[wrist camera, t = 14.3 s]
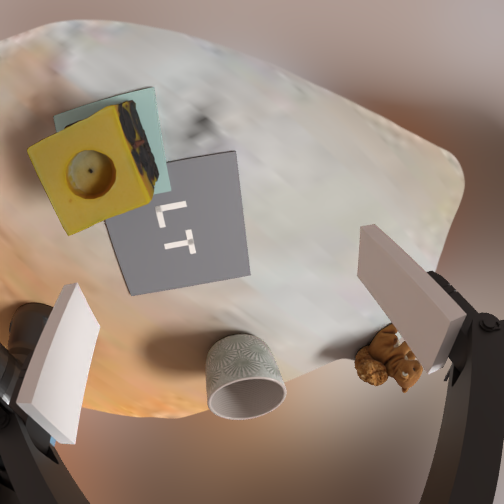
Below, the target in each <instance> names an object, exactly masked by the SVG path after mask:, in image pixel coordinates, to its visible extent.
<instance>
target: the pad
mask: <svg viewBox="0 0 504 504" xmlns="http://www.w3.org/2000/svg"><path fill="white" fill-rule="evenodd" d="M130 100H133V101H134V102H135V103H136V110H137V113H138V115H139V118H140V122H141V124H142V127H143V129H144V130H145V134H146V136H147V140H148V143H149V146H150V148H151V152H152V153H153V155H154V157H155V163H156V165H157V168H158V171H159V178H158V181H157V182H155V186H154V187H155V188H154V194H159V193H164V192H169V191H171V186H170V181H169V176H168V170H167V165H166V158H165V153H164V147H163V141H162V135H161V129H160V123H159V117H158V110H157V104H156V97H155V90H154V87H152V88H147V89H143V90H138V91H134V92H130V93H126V94H122V95H118V96H114V97H111V98H107V99H104V100H100V101H97V102H94V103H90V104H87V105H84V106H81V107H78V108H75V109H72V110H69V111H66V112H63V113H60V114H58V115H55V116H53V117H54V123H55V128H56V133H57V132H60V131H62V130H64V128H65V126H67V125H69V124H72V123H74V122H76V121H79V120H83V119H85V118H88V117H89V116H91V115H93V114H94V113H96V112H97V111H99V110H101V109H103V108H105V107H107V106H110V105H116V104H119V103H123V102H125V101H130ZM154 194H153V195H154Z"/></svg>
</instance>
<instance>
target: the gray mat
mask: <svg viewBox="0 0 504 504" xmlns="http://www.w3.org/2000/svg"><path fill="white" fill-rule="evenodd" d="M166 165H167V170H168V176H169V181H170V186H171V191H169V192H164V193H159V194H154V195H153V198H152V200H151V201H150V202H149V204H147V205H144V206H141V207H139V208H136V209H133V210H130V211H128V212H125V213H123V214H120V215H117V216H114V217H111V218H108V219H106V220H105V221H106V224H107V228H108V231H109V234H110V237H111V240H112V243H113V246H114V249H115V252H116V255H117V258H118V261H119V264H120V267H121V270H122V272H123V275H124V278H125V281H126V283H127V286H128V289H129V291H130V294H131V296H135V295H141V294H147V293H153V292H159V291H165V290H170V289H176V288H182V287H188V286H194V285H199V284H205V283H210V282H216V281H222V280H227V279H232V278H238V277H243V276H249V275H251V274H250V266H249V257H248V249H247V241H246V232H245V224H244V215H243V207H242V198H241V190H240V181H239V173H238V164H237V156H236V151H233V152H226V153H219V154H213V155H207V156H201V157H195V158H189V159H184V160H178V161H173V162H168V163H166Z"/></svg>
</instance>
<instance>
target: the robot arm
mask: <svg viewBox="0 0 504 504" xmlns="http://www.w3.org/2000/svg"><path fill="white" fill-rule="evenodd" d="M357 276H358V278H359V279H360V280H361V281H362V283H363V284H364V285H365V287H366V288H367V289H368V291H369V292H370V293H371V295H372V296H373V297H374V299H375V300H376V301H377V303H378V304H379V305H380V307H381V308H382V310H383V311H384V312H385V314H386V315H387V316H388V318H389V319H390V321H391V322H392V323H393V325H394V326H395V327H396V329H397V330H398V332H399V333H400V335H401V336H402V337H403V339H404V340H405V342H406V343H407V345H408V346H409V347H410V349H411V350H412V352H413V353H414V355H415V356H416V358H417V359H418V361H419V362H420V364H421V365H422V366H423V368H424V370H425V371H426V373H427V374H430V373H432V372H435V371H437V370H439V369H440V368H443V367H444V365H445V363H446V361H447V358H448V357H449V359H450V360H451V361H452V365H451V367H450V369H449V371H448V373H447V375H446V376H445V379H444V381H447V379H448V377H449V382H448V389H447V396H446V402H445V408H444V414H443V419H442V424H441V429H440V433H439V438H438V442H437V446H436V450H435V454H434V458H433V462H432V465H431V469H430V472H429V476H428V479H427V482H426V486H425V488H424V492H423V494H422V497H421V500H420V503H419V504H493V500H494V496H495V491H496V486H497V481H498V476H499V470H500V463H501V456H502V448H503V440H504V320H500V321H499V320H498V318H496V317H495V316H494V315H492V314H489V313H478V312H477V311H476V310H475V309H474V308H473V307H472V306H471V305H470V304H469V303H468V302H467V301H466V300H465V299H464V298H463V297H462V296H461V294H460V293H459V292H456V289H454V288H453V286H452V285H451V286H450V283H449V282H448V281H447V280H446V279H444V278H443V277H442V276H441V275H439V274H437V273H435V272H433V271H429V272H426V271H425V270H424V269H423V268H422V267H421V266H419V265H418V264H417V263H416V262H415V261H414V260H413V259H412V258H411V257H410V256H409V255H408V254H407V253H406V252H405V251H404V250H403V249H402V248H401V247H399V246H398V245H397V244H396V243H395V242H394V241H393V240H392V239H391V238H390V237H389V236H387V235H386V234H385V233H384V232H383V231H382V230H381V229H380V228H379V227H377V226H376V225H375V224H372V225H367V226H362V227H360V245H359V260H358V273H357ZM99 329H100V326H99V324H98V322H97V320H96V318H95V316H94V314H93V313H92V311H91V309H90V307H89V305H88V303H87V301H86V299H85V297H84V295H83V293H82V291H81V289H80V287H79V285H78V283H73V284H68V285H64V287H63V289H62V291H61V293H60V295H59V297H58V299H57V301H56V303H55V305H54V307H50V306H47V305H44V304H38V303H30V304H25V305H23V306H21V307H20V308H19V309H18V310H17V311H16V312H15V314H14V316H13V318H12V320H11V323H10V329H9V332H10V336H9V341H8V350H7V349H6V348H5V347H4V346H3V345H2V344H1V343H0V504H90V503H89V502H88V500H87V499H86V498H85V496H84V494H83V493H82V492H81V490H80V489H79V487H78V486H77V484H76V482H75V481H74V479H73V478H72V476H71V475H70V473H69V471H68V470H67V468H66V467H65V465H64V463H63V462H62V460H61V458H60V457H59V455H58V453H57V451H56V449H55V448H54V445H55V442H56V441H58V442H59V443H64V444H75V442H76V435H77V428H78V422H79V417H80V411H81V406H82V401H83V396H84V391H85V386H86V382H87V377H88V373H89V368H90V364H91V360H92V356H93V352H94V348H95V344H96V340H97V336H98V333H99Z"/></svg>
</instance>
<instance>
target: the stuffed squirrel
mask: <svg viewBox="0 0 504 504" xmlns="http://www.w3.org/2000/svg"><path fill="white" fill-rule="evenodd" d="M397 331H398V330H397V329H396V327H395V326H394V325H393V324H390V325H389V326H387V327H385V328H384V329H382V330H381V331H379V332H378V333H377V335H376V336H375V337H374V339H373V340H372V342H371V344H370V346H365V347H363V348H362V349H361V350H360V351H358V353H357V355H356V356H355V357H356V359H355V368H356V370H357V374H358V376H359V377H360V379H362V380H363V381H364V382H368V383H369V384H371V385H376V386H378V385H381V384H383V383H384V382H386V381H387V379H388V376H390V377H393V378H394V379H395V380H396V381H397V383H398V384H399V385H400V386H401V387H402V391H403V392H404V393H406V392H407V391H408V389H409V388H410V387H412V386H413V385H414V384H415V383H416V382H417V381H418V379H419V378H420V375H421V374H422V371H423V368H422V365H421V364H420V362H419V361H417V360H414V359H415V357H416V356H415V355H414V353H413V352H412V350H411V349H410V347H409V346H408V345H407V343H406V342H405V341H404V342H403V343H402V344H400V342H399V340H398V338H397V336H396V335H395V333H397Z"/></svg>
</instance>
